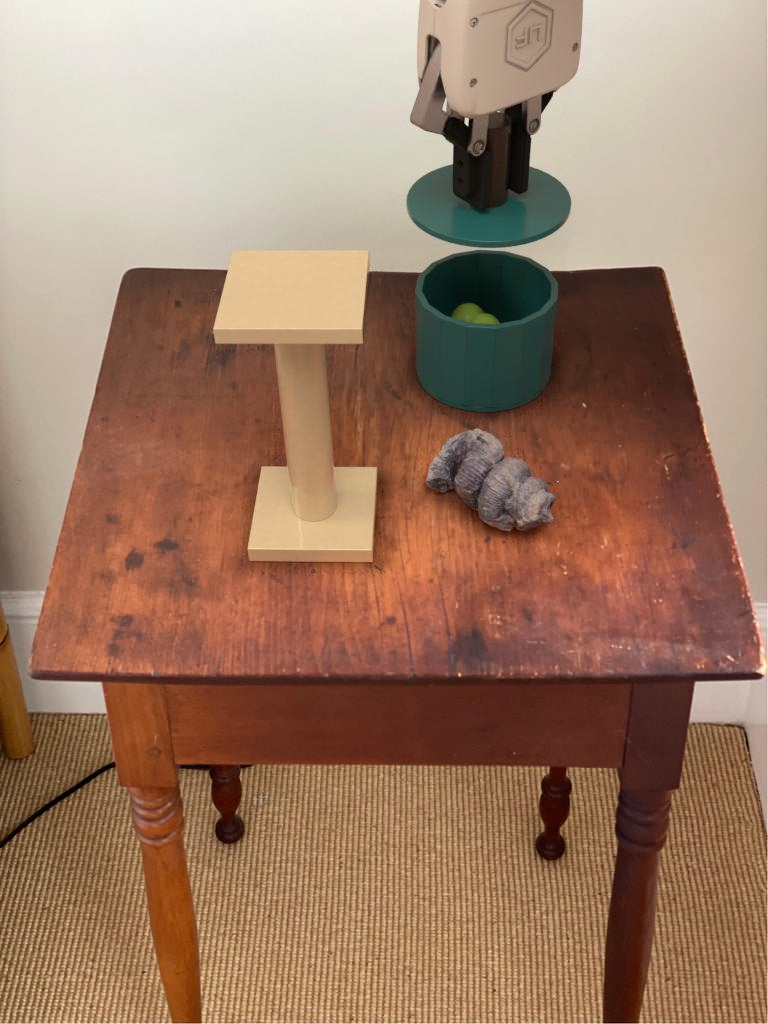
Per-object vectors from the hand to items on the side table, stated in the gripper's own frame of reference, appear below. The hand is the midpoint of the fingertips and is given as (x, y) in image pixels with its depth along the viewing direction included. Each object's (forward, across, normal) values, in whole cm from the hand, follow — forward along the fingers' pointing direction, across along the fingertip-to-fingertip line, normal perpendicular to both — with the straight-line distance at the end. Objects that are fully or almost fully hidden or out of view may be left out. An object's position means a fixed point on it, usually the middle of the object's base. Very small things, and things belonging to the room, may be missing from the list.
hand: (490, 191), depth 77 cm
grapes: (+14, 0, 0) cm, 14 cm away
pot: (+15, 0, 0) cm, 15 cm away
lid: (+1, 0, 0) cm, 1 cm away
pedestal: (+15, -19, -6) cm, 25 cm away
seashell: (+15, -9, -12) cm, 22 cm away
